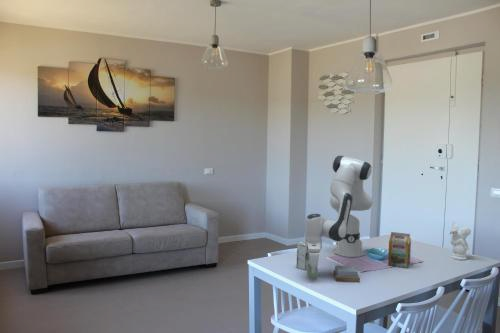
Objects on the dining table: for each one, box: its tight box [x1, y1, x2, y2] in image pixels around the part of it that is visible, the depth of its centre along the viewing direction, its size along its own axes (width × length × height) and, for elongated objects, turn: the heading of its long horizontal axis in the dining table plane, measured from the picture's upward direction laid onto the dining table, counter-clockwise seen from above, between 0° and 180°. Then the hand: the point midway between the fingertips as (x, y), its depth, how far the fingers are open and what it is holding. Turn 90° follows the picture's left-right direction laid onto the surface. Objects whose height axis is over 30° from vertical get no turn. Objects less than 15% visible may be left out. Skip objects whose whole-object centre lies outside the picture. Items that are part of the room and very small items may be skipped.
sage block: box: [306, 264, 318, 279], centre depth 237 cm, size 5×5×6 cm
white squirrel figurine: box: [449, 221, 472, 261], centre depth 273 cm, size 12×12×22 cm
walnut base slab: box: [333, 269, 361, 284], centre depth 234 cm, size 12×12×3 cm
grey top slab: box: [334, 264, 359, 277], centre depth 234 cm, size 10×10×3 cm
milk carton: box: [387, 231, 412, 270], centre depth 259 cm, size 11×11×19 cm
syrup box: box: [296, 241, 310, 271], centre depth 250 cm, size 6×6×14 cm
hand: (312, 270), depth 236 cm, fingers open, 8 cm apart
